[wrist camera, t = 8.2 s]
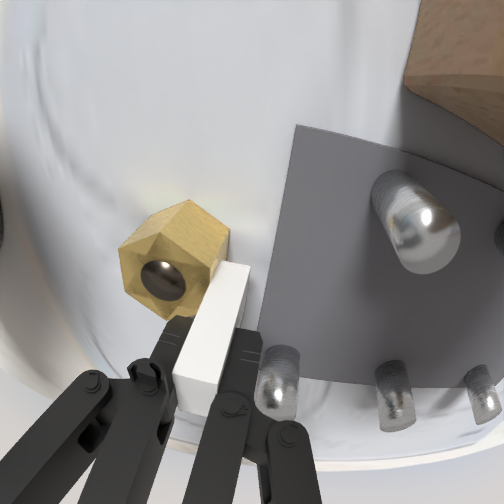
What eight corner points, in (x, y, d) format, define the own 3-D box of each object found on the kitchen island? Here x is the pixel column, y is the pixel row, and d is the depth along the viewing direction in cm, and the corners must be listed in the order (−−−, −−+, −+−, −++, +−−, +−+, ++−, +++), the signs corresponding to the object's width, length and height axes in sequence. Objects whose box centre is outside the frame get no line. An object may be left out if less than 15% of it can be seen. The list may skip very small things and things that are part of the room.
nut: (136, 242, 16) (104, 277, 13) (169, 184, 14) (134, 214, 11) (205, 291, 17) (186, 334, 14) (249, 243, 15) (235, 286, 12)
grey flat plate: (249, 363, 20) (248, 367, 20) (296, 124, 12) (296, 125, 11) (494, 382, 19) (495, 385, 18) (587, 241, 10) (590, 243, 10)
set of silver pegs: (261, 363, 19) (251, 419, 16) (311, 147, 12) (316, 176, 8) (489, 381, 18) (502, 420, 14) (578, 247, 10) (610, 284, 6)
